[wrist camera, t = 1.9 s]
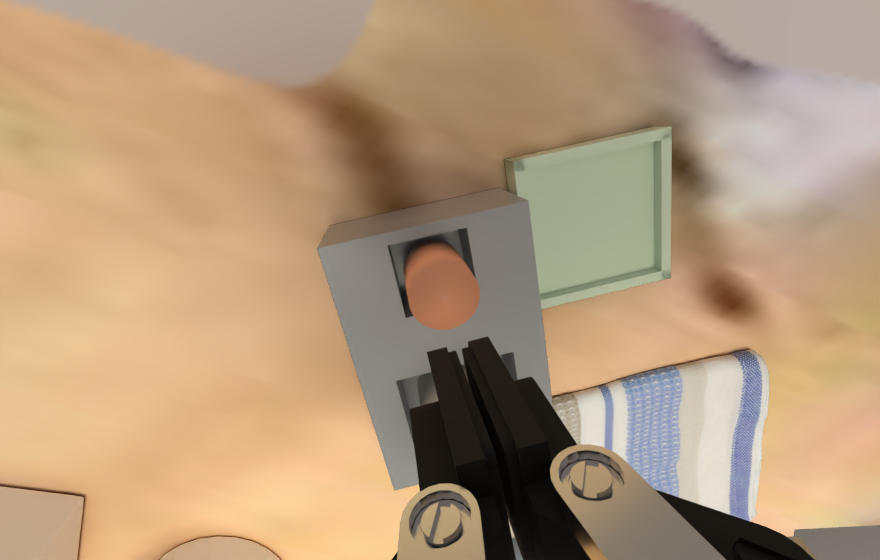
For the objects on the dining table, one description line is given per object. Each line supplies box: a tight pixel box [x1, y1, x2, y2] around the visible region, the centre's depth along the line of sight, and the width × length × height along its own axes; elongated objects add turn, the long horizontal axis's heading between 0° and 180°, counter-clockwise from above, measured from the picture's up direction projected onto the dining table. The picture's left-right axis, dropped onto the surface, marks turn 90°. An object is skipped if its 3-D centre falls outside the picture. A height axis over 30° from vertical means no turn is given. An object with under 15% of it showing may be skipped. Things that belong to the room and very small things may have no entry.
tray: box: [504, 126, 672, 309], centre depth 24 cm, size 9×9×2 cm
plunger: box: [403, 240, 480, 330], centre depth 19 cm, size 3×3×4 cm
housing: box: [317, 188, 553, 491], centre depth 24 cm, size 10×15×5 cm, turn 11°
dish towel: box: [552, 350, 769, 522], centre depth 32 cm, size 17×24×3 cm
